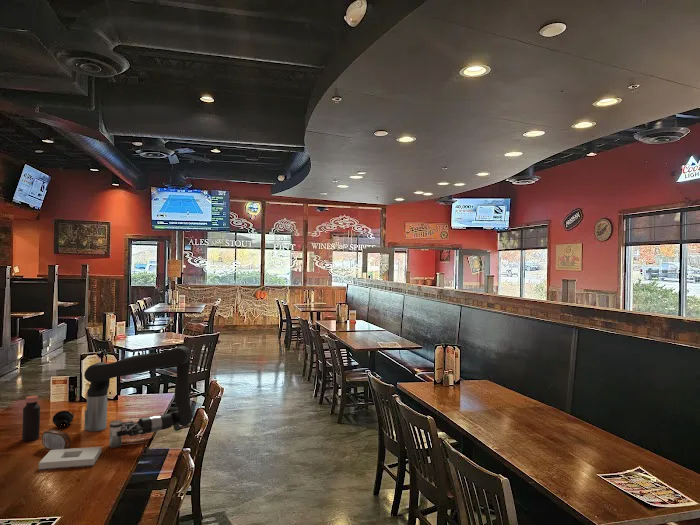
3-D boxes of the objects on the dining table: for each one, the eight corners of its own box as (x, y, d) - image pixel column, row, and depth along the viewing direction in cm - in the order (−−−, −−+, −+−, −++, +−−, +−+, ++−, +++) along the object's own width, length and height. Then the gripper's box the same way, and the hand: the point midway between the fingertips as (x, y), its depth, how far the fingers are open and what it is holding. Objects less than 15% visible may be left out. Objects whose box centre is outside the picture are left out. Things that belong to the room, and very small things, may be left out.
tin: (71, 451, 215) (71, 432, 215) (65, 453, 212) (65, 434, 212) (46, 446, 220) (47, 427, 220) (40, 448, 217) (40, 429, 217)
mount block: (38, 470, 194) (38, 462, 194) (50, 456, 207) (50, 449, 208) (93, 466, 199) (93, 458, 199) (101, 453, 213) (101, 446, 213)
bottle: (42, 438, 229) (43, 396, 230) (27, 442, 223) (29, 399, 224) (33, 435, 232) (34, 394, 233) (18, 440, 226) (20, 397, 226)
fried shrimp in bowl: (48, 422, 238) (49, 402, 253) (58, 438, 243) (59, 417, 258) (69, 414, 241) (68, 394, 256) (78, 429, 246) (77, 409, 261)
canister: (106, 446, 220) (107, 422, 220) (115, 443, 225) (115, 419, 225) (115, 448, 219) (116, 424, 219) (124, 444, 224) (125, 420, 224)
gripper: (144, 413, 238) (109, 419, 227) (155, 420, 228) (119, 427, 216) (144, 428, 238) (109, 435, 227) (155, 436, 227) (119, 444, 216)
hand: (114, 431), depth 222 cm, fingers open, 8 cm apart
